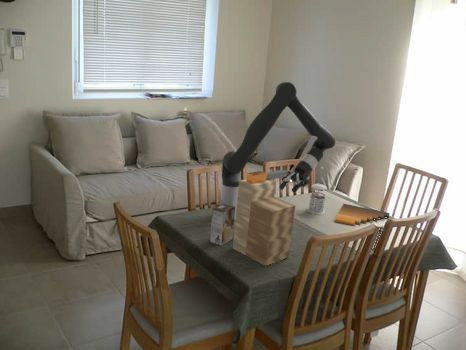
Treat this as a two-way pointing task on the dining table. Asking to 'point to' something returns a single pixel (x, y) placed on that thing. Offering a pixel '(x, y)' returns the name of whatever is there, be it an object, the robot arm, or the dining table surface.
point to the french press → (319, 201)
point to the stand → (262, 223)
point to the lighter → (378, 234)
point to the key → (264, 176)
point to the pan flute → (358, 215)
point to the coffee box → (222, 224)
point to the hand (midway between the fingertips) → (286, 190)
